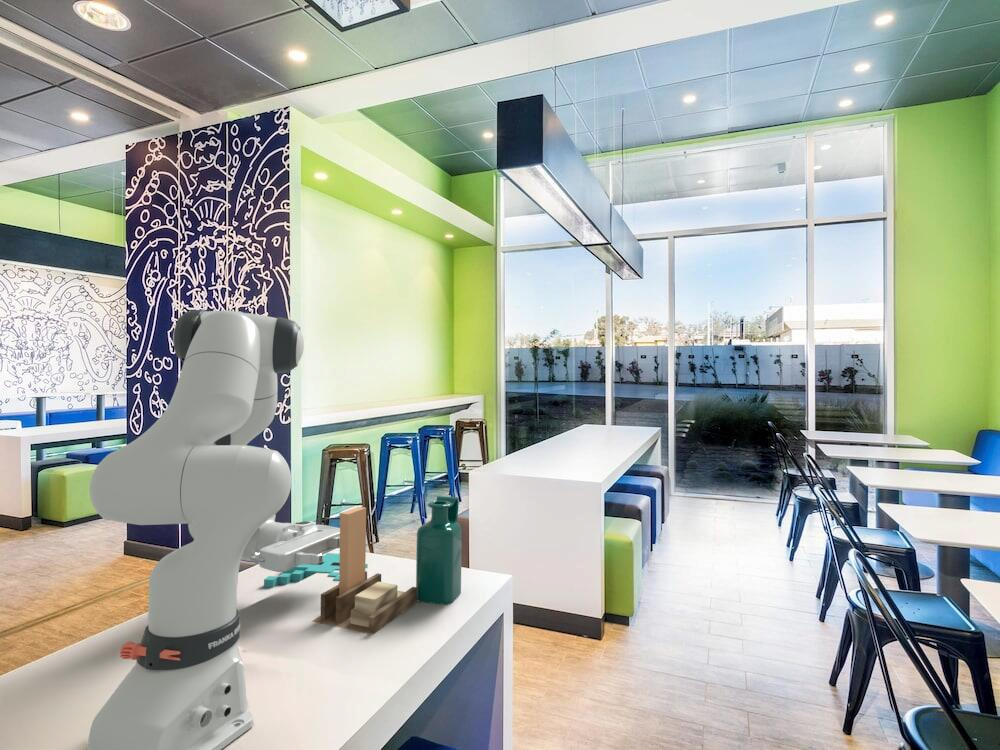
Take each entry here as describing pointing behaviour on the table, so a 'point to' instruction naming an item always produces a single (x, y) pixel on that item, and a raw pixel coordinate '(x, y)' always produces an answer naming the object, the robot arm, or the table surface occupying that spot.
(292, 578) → the alien figure
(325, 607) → the rack
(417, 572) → the pitcher
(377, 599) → the offcut stack
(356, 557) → the panel
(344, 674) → the table surface
